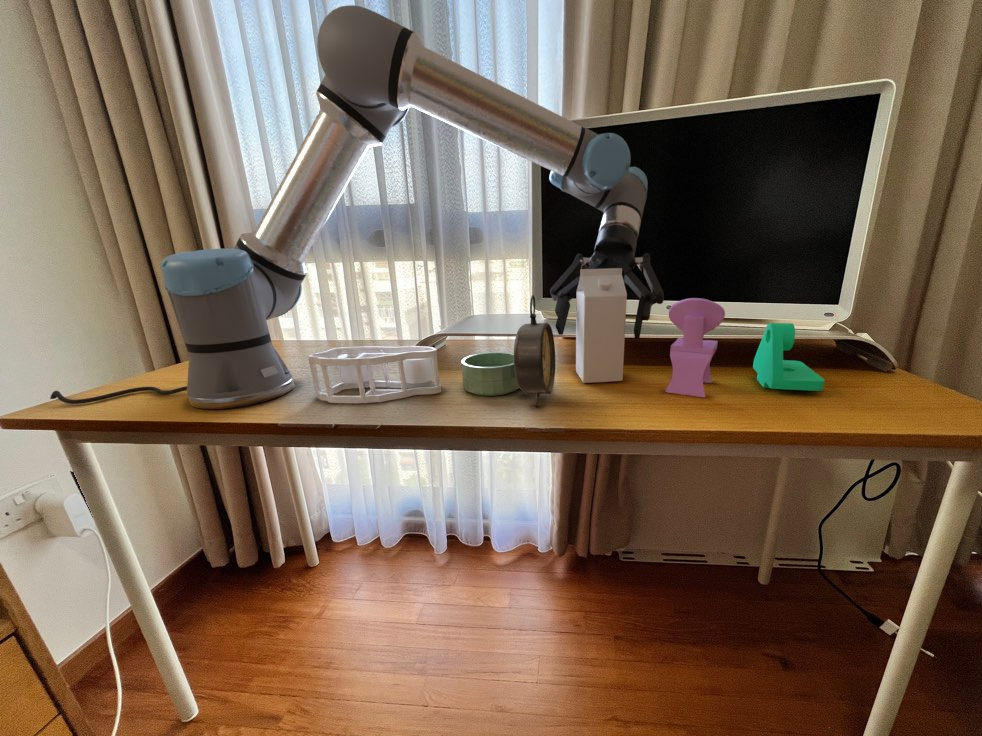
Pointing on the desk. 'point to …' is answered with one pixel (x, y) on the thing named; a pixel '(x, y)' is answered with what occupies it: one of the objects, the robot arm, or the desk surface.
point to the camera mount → (782, 362)
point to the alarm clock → (534, 357)
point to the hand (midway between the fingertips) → (596, 332)
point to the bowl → (489, 373)
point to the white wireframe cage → (360, 373)
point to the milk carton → (600, 325)
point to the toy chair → (693, 345)
